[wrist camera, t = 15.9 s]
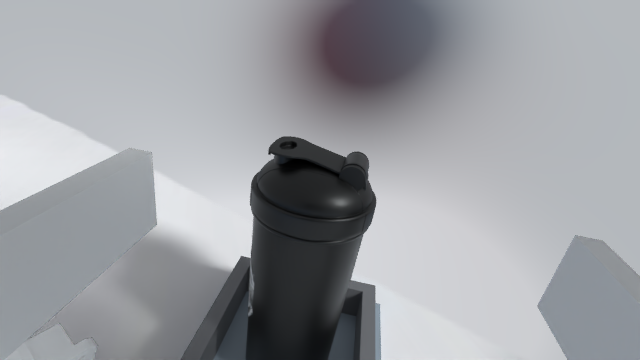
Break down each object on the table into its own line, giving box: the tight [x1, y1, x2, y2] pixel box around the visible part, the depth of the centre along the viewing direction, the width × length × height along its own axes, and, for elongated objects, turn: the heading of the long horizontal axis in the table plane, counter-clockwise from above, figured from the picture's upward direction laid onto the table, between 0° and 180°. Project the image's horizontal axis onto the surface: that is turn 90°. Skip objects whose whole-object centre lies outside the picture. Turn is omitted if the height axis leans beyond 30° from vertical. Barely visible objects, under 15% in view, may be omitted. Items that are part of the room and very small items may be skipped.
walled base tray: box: [181, 256, 381, 360], centre depth 36 cm, size 20×20×5 cm
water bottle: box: [246, 137, 376, 360], centre depth 32 cm, size 10×10×23 cm
